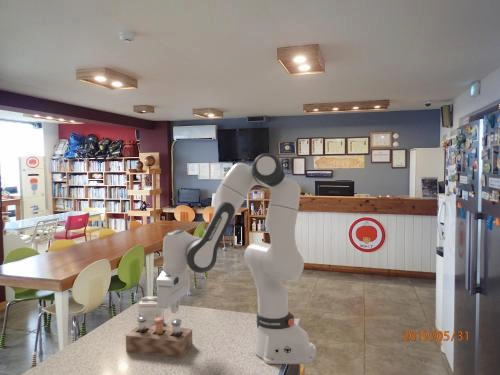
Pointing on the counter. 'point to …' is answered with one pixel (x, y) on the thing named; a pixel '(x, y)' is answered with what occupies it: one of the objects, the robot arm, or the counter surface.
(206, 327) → the counter surface
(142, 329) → the grey plug far
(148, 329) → the block
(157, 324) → the terracotta plug
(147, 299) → the ink box
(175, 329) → the grey plug near
